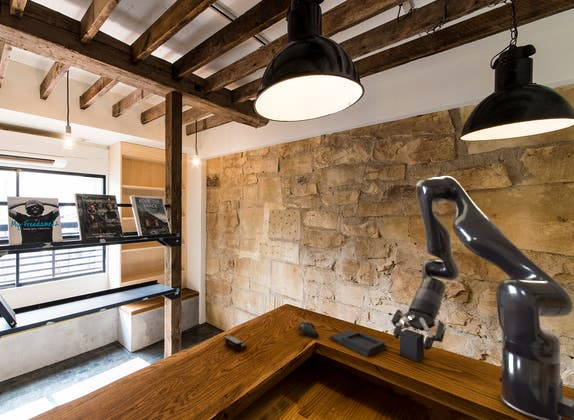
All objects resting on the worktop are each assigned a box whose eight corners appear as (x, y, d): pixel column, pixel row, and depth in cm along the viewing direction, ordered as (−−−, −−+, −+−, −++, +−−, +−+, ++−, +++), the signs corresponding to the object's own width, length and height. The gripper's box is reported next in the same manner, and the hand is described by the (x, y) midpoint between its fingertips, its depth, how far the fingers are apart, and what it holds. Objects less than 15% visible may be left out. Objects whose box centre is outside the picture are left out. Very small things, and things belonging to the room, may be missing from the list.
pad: (386, 348, 95) (386, 341, 95) (367, 357, 90) (367, 350, 90) (348, 332, 108) (349, 326, 108) (330, 339, 102) (330, 333, 102)
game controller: (320, 336, 102) (309, 324, 103) (310, 345, 103) (299, 333, 104) (315, 325, 112) (304, 315, 112) (305, 333, 112) (295, 323, 113)
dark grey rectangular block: (423, 358, 89) (424, 334, 89) (416, 362, 87) (417, 338, 87) (406, 351, 93) (406, 329, 93) (399, 354, 91) (399, 332, 91)
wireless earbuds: (239, 353, 91) (239, 344, 91) (224, 345, 97) (224, 337, 97) (247, 349, 94) (247, 340, 94) (232, 341, 100) (232, 333, 100)
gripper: (399, 292, 100) (383, 328, 95) (448, 304, 87) (432, 346, 82) (406, 303, 102) (391, 339, 97) (454, 317, 90) (440, 358, 85)
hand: (410, 342), depth 90 cm, fingers open, 8 cm apart
